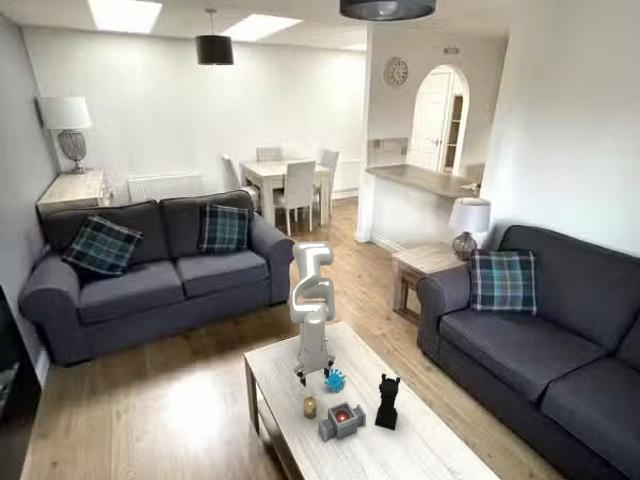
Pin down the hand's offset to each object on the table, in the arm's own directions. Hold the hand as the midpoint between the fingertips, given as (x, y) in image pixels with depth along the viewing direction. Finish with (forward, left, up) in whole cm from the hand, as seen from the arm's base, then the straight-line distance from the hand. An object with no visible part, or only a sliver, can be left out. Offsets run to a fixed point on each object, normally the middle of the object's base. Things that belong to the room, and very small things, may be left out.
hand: (315, 379), depth 139 cm
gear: (-11, +15, -20) cm, 27 cm away
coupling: (-2, -1, -20) cm, 20 cm away
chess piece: (+13, +26, -20) cm, 35 cm away
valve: (+9, +8, -20) cm, 23 cm away
